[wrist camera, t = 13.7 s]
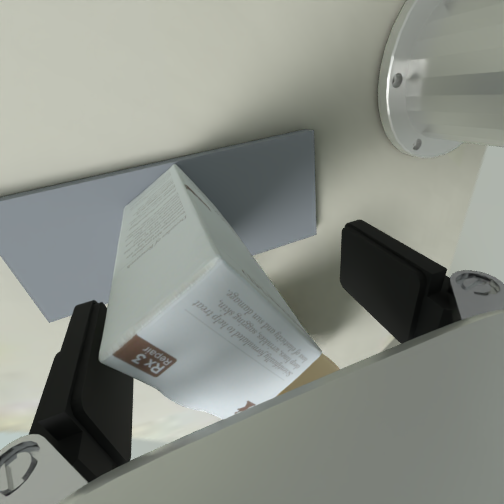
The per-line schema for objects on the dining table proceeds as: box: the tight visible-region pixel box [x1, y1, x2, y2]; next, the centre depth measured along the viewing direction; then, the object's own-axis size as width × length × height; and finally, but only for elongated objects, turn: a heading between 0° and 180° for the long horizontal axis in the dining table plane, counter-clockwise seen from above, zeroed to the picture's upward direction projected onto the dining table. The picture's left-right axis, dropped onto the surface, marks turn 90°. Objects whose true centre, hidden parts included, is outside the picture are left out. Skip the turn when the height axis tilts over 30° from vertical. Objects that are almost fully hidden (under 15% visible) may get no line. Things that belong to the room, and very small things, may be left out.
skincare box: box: [99, 164, 322, 419], centre depth 13 cm, size 6×4×12 cm
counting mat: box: [0, 129, 316, 323], centre depth 19 cm, size 20×8×1 cm, turn 99°
